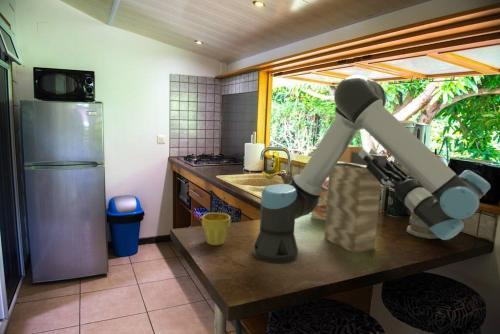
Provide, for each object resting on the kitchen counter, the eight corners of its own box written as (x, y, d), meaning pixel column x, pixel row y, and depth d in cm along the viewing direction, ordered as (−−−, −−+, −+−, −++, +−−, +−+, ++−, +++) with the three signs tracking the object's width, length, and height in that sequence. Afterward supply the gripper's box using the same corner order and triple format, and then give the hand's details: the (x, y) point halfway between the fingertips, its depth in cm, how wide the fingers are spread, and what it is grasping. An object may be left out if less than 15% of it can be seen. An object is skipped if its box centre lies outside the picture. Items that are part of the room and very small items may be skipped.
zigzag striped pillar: (374, 249, 122) (382, 168, 117) (354, 253, 117) (362, 169, 113) (343, 235, 136) (349, 162, 131) (324, 238, 131) (330, 163, 127)
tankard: (400, 229, 147) (404, 196, 145) (424, 228, 150) (428, 195, 148) (436, 246, 127) (440, 208, 125) (462, 244, 131) (467, 207, 129)
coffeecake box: (310, 218, 158) (313, 178, 155) (313, 214, 164) (316, 176, 162) (343, 223, 152) (346, 181, 150) (344, 219, 159) (348, 179, 156)
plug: (388, 167, 113) (389, 149, 112) (375, 167, 110) (377, 149, 109) (346, 160, 130) (347, 145, 130) (334, 160, 128) (335, 145, 127)
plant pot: (217, 249, 115) (218, 222, 113) (195, 242, 120) (196, 216, 119) (235, 241, 123) (236, 216, 122) (213, 235, 129) (214, 210, 128)
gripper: (388, 206, 99) (343, 160, 116) (424, 202, 107) (377, 159, 124) (401, 188, 95) (352, 142, 111) (437, 184, 103) (387, 142, 119)
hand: (365, 151), depth 117 cm, fingers closed on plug, 4 cm apart
